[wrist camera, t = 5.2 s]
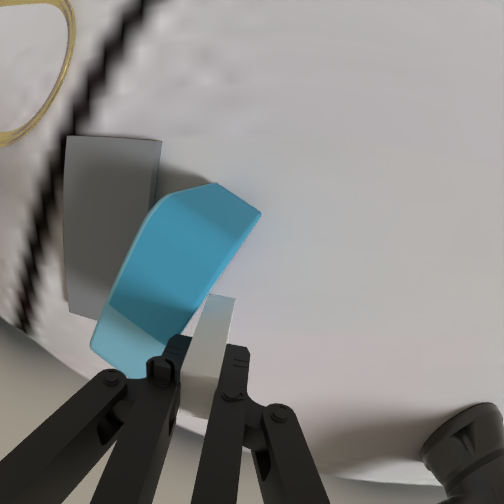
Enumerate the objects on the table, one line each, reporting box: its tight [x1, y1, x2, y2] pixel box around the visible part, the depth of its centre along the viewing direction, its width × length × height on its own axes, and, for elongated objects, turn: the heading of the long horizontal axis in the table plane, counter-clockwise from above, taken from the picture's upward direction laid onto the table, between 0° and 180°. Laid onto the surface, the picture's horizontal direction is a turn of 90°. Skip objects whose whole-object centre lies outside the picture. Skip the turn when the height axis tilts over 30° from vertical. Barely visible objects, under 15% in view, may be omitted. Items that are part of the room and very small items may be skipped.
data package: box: [90, 183, 261, 379], centre depth 21 cm, size 12×4×12 cm, turn 147°
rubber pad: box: [63, 136, 162, 321], centre depth 26 cm, size 18×9×2 cm, turn 170°
